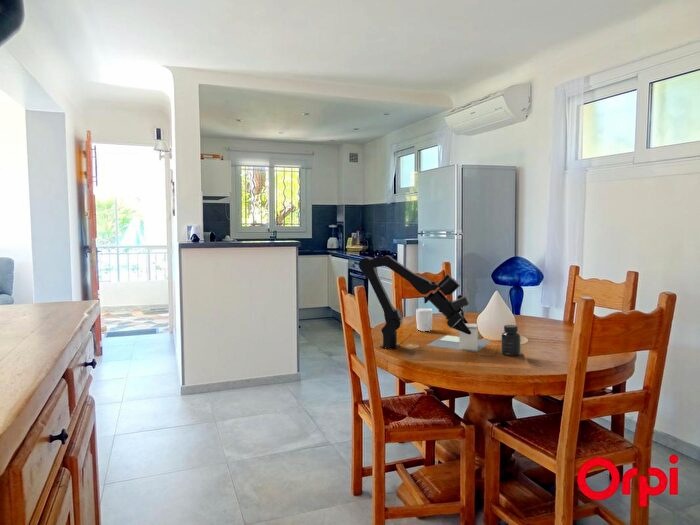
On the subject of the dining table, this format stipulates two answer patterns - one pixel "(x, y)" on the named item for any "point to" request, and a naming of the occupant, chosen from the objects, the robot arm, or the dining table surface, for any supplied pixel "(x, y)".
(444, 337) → the board
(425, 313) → the white cup
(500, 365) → the dining table surface
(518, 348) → the supplement bottle
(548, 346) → the dining table surface
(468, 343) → the white rounded cube
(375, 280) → the robot arm
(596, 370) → the dining table surface
